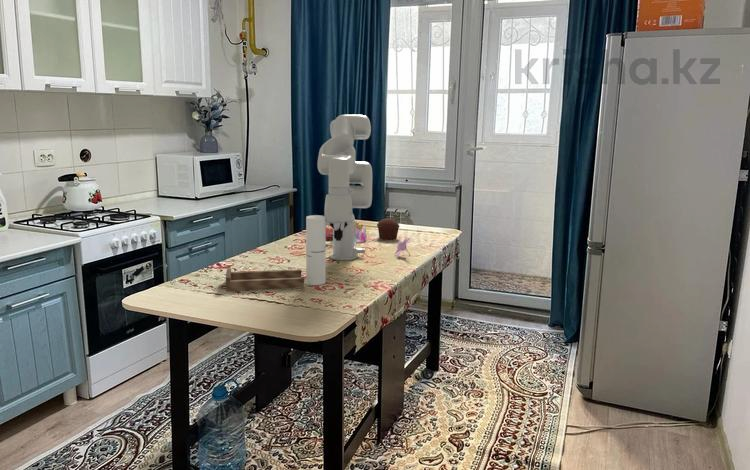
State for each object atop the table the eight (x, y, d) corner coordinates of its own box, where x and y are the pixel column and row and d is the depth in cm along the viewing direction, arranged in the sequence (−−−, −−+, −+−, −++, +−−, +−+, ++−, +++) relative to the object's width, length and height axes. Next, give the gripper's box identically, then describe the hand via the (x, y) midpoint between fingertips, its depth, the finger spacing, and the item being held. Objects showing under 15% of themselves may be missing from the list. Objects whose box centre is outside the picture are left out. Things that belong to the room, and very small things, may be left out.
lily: (398, 253, 260) (390, 238, 256) (419, 247, 256) (412, 231, 253) (395, 267, 250) (387, 251, 247) (417, 260, 247) (409, 244, 243)
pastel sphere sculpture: (322, 234, 291) (322, 217, 289) (367, 236, 291) (367, 218, 289) (315, 246, 267) (315, 227, 265) (365, 248, 266) (365, 228, 264)
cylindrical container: (322, 285, 208) (322, 219, 203) (303, 284, 210) (303, 218, 204) (327, 280, 215) (328, 215, 209) (309, 278, 216) (309, 214, 211)
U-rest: (301, 278, 217) (301, 265, 216) (304, 287, 205) (304, 274, 204) (227, 280, 211) (227, 268, 210) (226, 291, 200) (225, 277, 198)
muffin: (403, 238, 287) (404, 218, 285) (392, 242, 278) (392, 222, 275) (383, 234, 293) (384, 215, 291) (371, 238, 284) (372, 219, 282)
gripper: (356, 189, 211) (356, 237, 216) (317, 190, 208) (317, 238, 212) (360, 192, 204) (359, 241, 208) (319, 193, 201) (319, 243, 205)
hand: (338, 240), depth 210 cm, fingers closed
